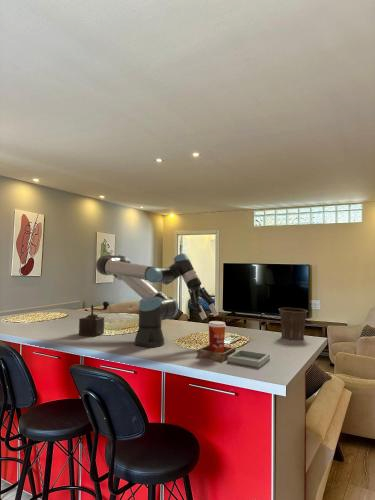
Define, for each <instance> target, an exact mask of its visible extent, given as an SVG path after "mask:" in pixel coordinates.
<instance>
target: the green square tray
mask: <svg viewBox="0 0 375 500" xmlns="http://www.w3.org/2000/svg"><path fill="white" fill-rule="evenodd" d="M270 360H271V359H270V353H264V352H258V351H252V350H246V349H237V350H235V352H234V353H233V354H231V355H229V356H228V359H227V363H230V364H235V365H240V366H244V367H245V366H246V367H250V368H251V367H252V368H257V369H260V368H261V367H263V366H264V365H265V364H266V363H267V362H269V361H270Z"/></svg>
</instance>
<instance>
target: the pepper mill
mask: <svg viewBox="0 0 375 500" xmlns="http://www.w3.org/2000/svg"><path fill="white" fill-rule="evenodd" d="M102 306H103V307H102V308H94V305H93V304H91V305H90V309H91V310H90V311H91V313H90V314H88V315H87V316H85V317H81V318H79V320H78V322H79V323H78V336H81V337H92V338H95V337H98V336H102V335H103V334H105V317H103V316H99V314H95V313H94V311H101V312H103V311H106V310H108V308H109V306H110V302H109V301H103V303H102Z"/></svg>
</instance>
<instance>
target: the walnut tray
mask: <svg viewBox="0 0 375 500" xmlns="http://www.w3.org/2000/svg"><path fill="white" fill-rule="evenodd" d="M196 351H197V352H196V353H197V355H196V356H197V357H198V358H199V357H200V358H204V359H208V360H209V359H210V360H216V361H221V362H224V361H226V360H227V361H228V356H229V355H231V354H233V353H234V352H236V347H234V346H233V347H232V346H225V345H224V350H223V353H218V352H212V351H210V347H209V344H207V345H205V346H202V347H200V348H198V349H197V350H196Z"/></svg>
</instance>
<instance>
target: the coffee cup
mask: <svg viewBox="0 0 375 500" xmlns="http://www.w3.org/2000/svg"><path fill="white" fill-rule="evenodd" d="M207 326H208V341H209V344H208V345H209V347H210V351H212V352H218V353H223V350H224V346H225V335H226V327H227V325H226V322H225V321H219V320H212V321H209V322H208V324H207Z"/></svg>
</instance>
